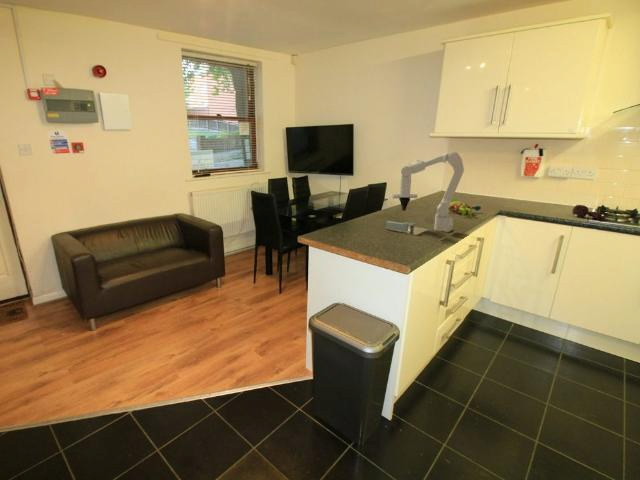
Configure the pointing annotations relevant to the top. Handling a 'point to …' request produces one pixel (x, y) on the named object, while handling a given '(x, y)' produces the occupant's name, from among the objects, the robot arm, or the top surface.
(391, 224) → the swing arm
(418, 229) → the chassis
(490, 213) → the top surface
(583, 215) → the figurine
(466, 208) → the toy
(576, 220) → the top surface
